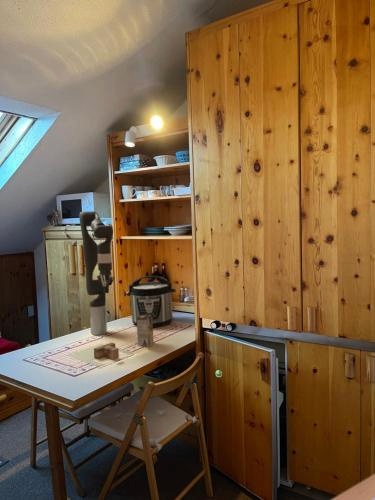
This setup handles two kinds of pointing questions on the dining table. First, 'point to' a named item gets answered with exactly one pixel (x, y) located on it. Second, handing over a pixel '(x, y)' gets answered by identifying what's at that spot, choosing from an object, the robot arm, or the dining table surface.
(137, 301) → the pressure cooker
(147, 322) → the coffee box
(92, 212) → the robot arm
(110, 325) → the dining table surface
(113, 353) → the t block
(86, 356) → the board
